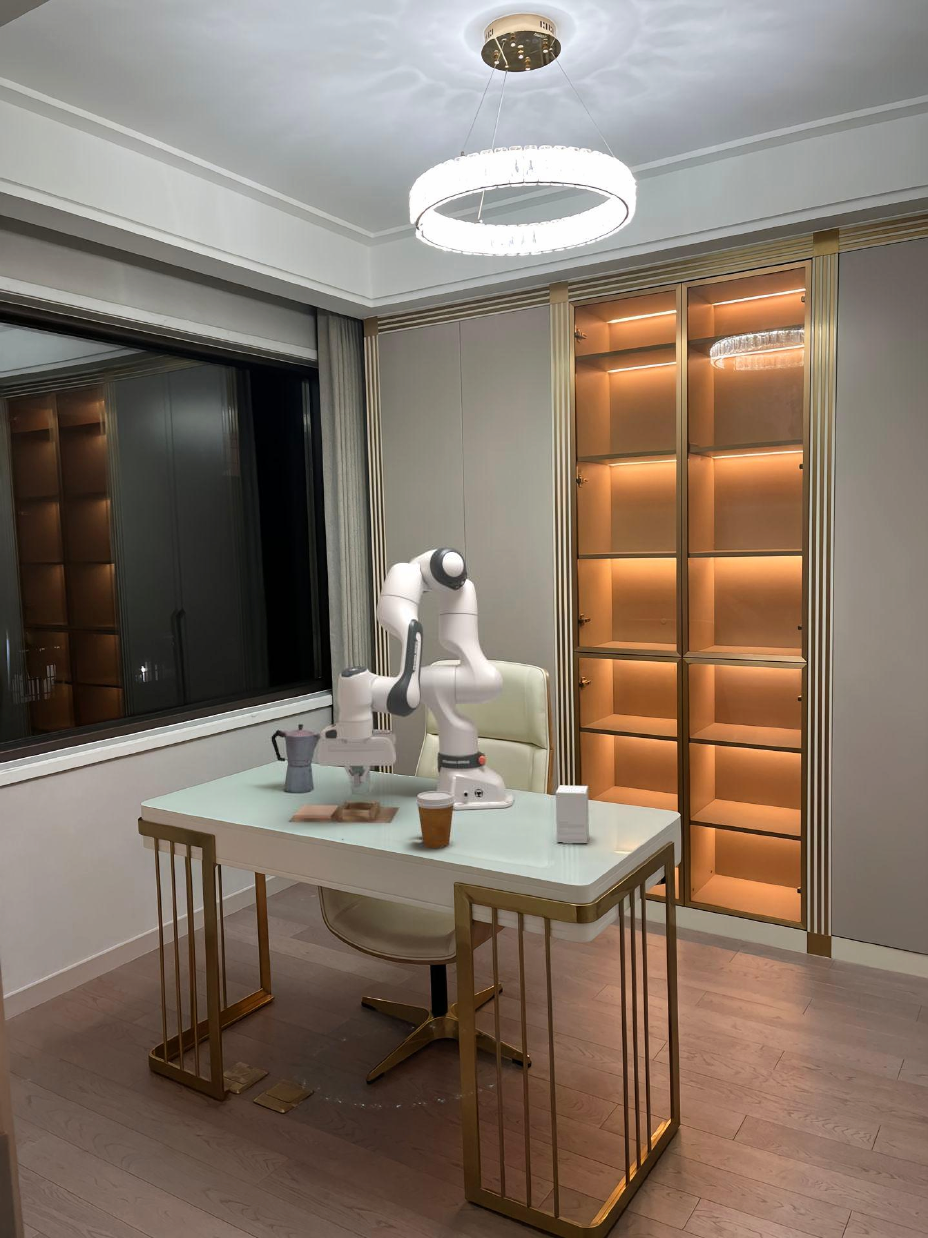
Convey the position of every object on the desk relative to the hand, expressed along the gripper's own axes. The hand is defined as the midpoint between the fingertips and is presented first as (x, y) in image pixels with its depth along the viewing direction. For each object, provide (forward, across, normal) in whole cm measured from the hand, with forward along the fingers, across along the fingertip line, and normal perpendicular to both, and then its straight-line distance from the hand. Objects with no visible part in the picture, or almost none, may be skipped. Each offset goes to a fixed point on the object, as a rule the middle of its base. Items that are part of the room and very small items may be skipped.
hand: (357, 781), depth 245 cm
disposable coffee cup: (+11, -22, +18) cm, 30 cm away
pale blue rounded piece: (+4, 0, -2) cm, 4 cm away
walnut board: (+11, +5, -5) cm, 13 cm away
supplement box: (+11, -55, +13) cm, 58 cm away
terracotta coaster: (+10, +13, -6) cm, 17 cm away
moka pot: (+12, +25, -35) cm, 45 cm away
